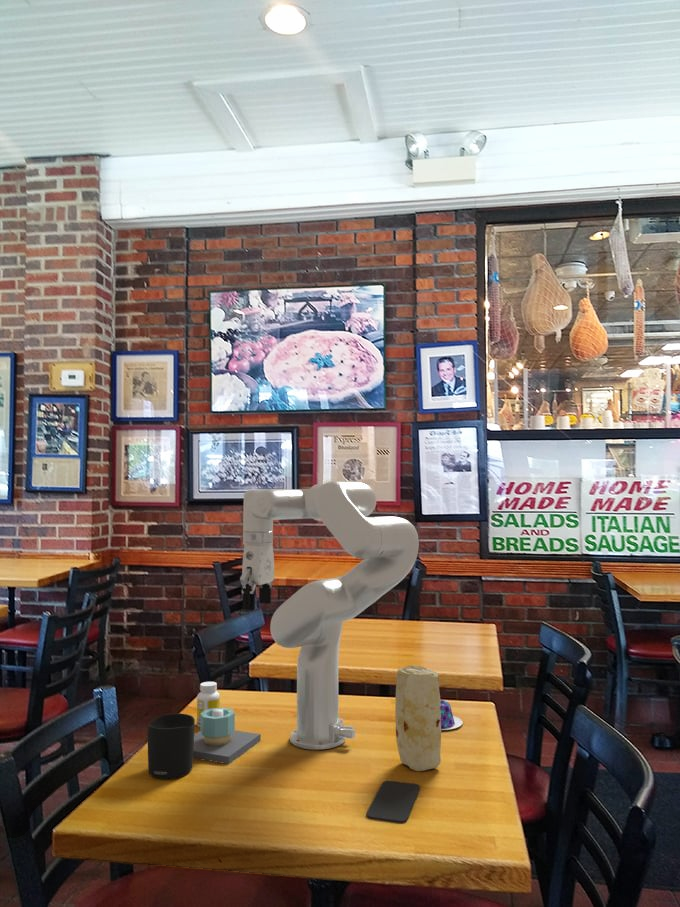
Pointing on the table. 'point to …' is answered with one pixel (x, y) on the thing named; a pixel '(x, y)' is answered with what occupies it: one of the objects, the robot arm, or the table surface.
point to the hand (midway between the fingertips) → (257, 606)
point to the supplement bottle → (207, 698)
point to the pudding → (448, 717)
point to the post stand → (223, 744)
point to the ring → (217, 723)
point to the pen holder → (170, 745)
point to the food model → (418, 717)
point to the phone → (393, 802)
